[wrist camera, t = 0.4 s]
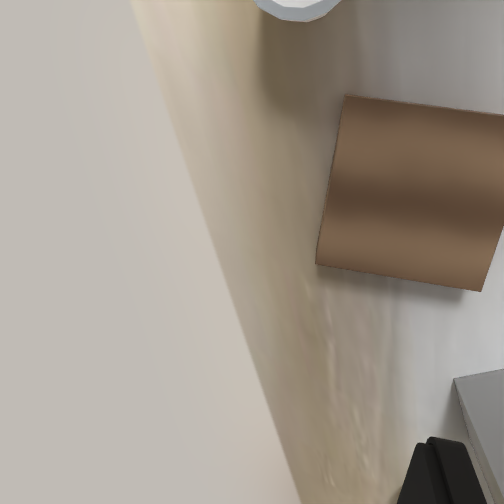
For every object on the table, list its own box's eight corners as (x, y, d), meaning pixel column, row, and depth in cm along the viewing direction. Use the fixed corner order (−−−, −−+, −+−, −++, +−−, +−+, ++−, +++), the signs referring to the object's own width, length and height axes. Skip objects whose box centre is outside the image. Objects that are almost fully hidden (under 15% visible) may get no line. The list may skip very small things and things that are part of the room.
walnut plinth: (344, 94, 32) (346, 95, 30) (520, 117, 31) (539, 120, 28) (316, 250, 37) (315, 264, 34) (469, 275, 36) (480, 292, 33)
